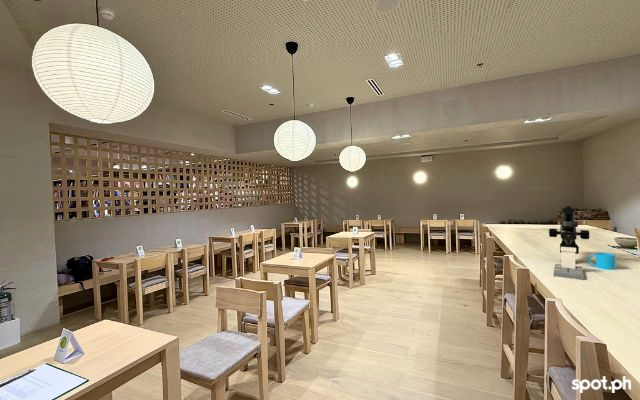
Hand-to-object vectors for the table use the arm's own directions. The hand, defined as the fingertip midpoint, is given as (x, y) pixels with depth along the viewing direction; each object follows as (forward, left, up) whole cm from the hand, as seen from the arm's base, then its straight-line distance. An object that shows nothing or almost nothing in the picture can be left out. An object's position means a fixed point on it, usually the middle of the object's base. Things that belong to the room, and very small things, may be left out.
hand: (568, 244), depth 174 cm
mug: (-6, +17, -14) cm, 22 cm away
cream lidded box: (+9, -3, -11) cm, 15 cm away
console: (+14, -4, -14) cm, 20 cm away
